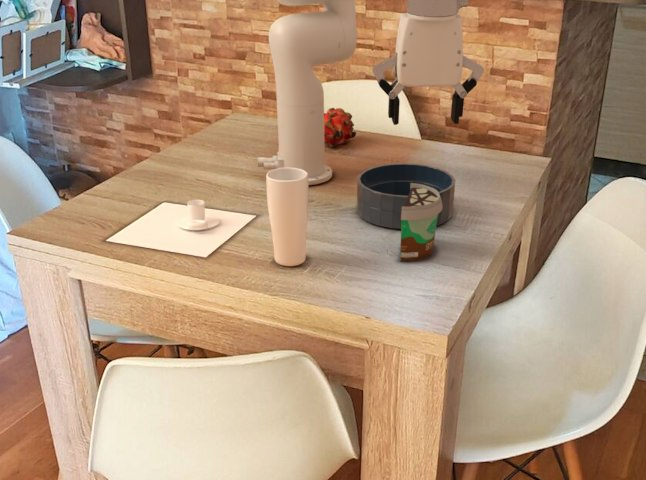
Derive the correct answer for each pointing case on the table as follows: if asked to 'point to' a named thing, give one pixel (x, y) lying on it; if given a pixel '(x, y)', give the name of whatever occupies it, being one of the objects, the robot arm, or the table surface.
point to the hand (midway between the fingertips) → (424, 121)
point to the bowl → (399, 191)
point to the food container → (419, 222)
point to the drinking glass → (288, 213)
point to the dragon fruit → (337, 127)
